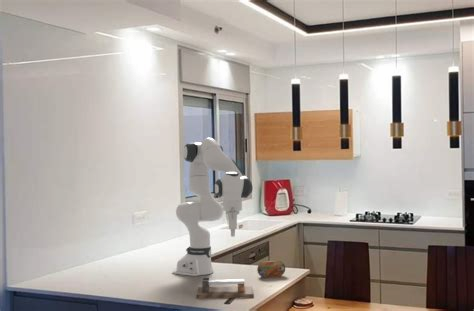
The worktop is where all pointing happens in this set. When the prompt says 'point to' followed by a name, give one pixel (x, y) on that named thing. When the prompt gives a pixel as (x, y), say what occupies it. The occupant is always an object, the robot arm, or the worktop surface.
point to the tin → (271, 269)
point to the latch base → (223, 291)
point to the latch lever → (227, 281)
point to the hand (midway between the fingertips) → (232, 236)
